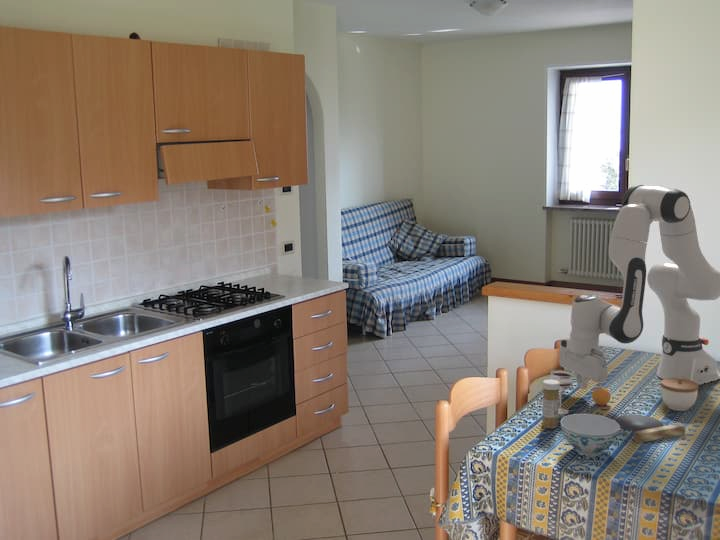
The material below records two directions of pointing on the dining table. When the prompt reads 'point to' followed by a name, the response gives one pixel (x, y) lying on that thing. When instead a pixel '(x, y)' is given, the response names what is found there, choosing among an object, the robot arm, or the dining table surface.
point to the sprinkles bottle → (550, 403)
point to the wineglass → (562, 384)
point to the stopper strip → (659, 433)
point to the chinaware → (589, 432)
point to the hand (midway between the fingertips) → (581, 387)
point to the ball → (601, 396)
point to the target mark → (638, 422)
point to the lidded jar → (679, 393)
